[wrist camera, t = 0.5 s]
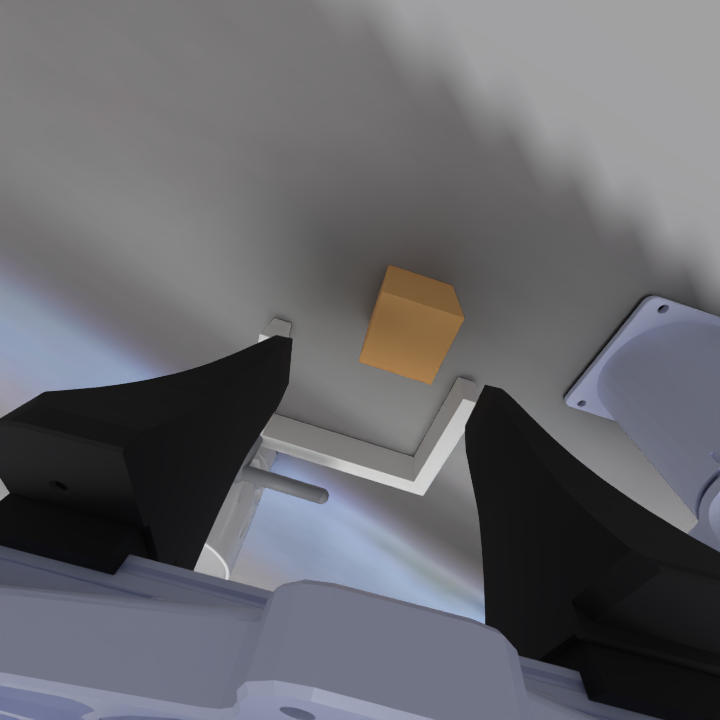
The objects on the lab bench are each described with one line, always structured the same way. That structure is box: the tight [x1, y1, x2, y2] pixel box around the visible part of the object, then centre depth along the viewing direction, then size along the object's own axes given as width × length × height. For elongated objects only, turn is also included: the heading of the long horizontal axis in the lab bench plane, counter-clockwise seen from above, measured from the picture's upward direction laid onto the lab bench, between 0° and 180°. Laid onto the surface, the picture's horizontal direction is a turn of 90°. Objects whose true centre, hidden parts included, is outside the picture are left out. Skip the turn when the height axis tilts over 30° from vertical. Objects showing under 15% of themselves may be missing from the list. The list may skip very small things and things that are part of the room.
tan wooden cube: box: [359, 265, 465, 385], centre depth 18 cm, size 4×4×5 cm
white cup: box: [194, 446, 277, 580], centre depth 24 cm, size 8×8×10 cm
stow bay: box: [233, 318, 479, 504], centre depth 22 cm, size 14×10×6 cm
